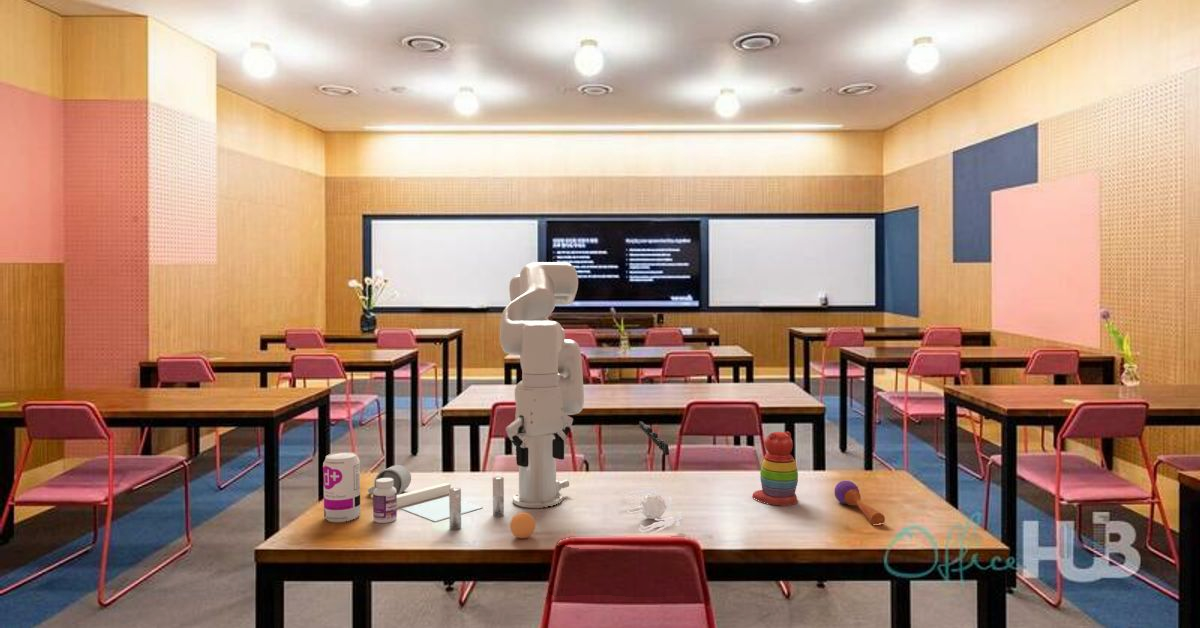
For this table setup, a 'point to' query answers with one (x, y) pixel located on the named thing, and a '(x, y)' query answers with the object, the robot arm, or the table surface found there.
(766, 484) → the stacking bear
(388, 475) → the ceramic mug
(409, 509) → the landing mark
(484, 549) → the table surface
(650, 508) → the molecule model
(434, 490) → the strip
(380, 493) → the pill bottle
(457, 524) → the post
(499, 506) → the post
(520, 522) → the ball
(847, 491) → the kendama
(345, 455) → the supplement can
